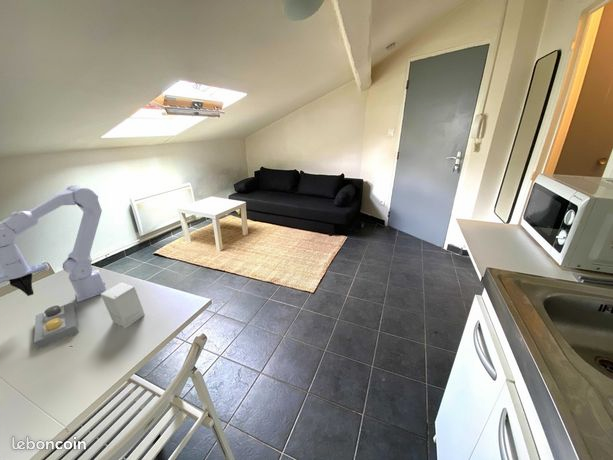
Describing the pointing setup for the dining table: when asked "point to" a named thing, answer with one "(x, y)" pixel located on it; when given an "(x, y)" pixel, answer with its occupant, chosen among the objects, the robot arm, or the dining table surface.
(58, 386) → the dining table surface
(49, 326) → the knob
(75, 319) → the mount plate
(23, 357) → the dining table surface
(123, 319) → the supplement box
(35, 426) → the dining table surface
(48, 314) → the knob
